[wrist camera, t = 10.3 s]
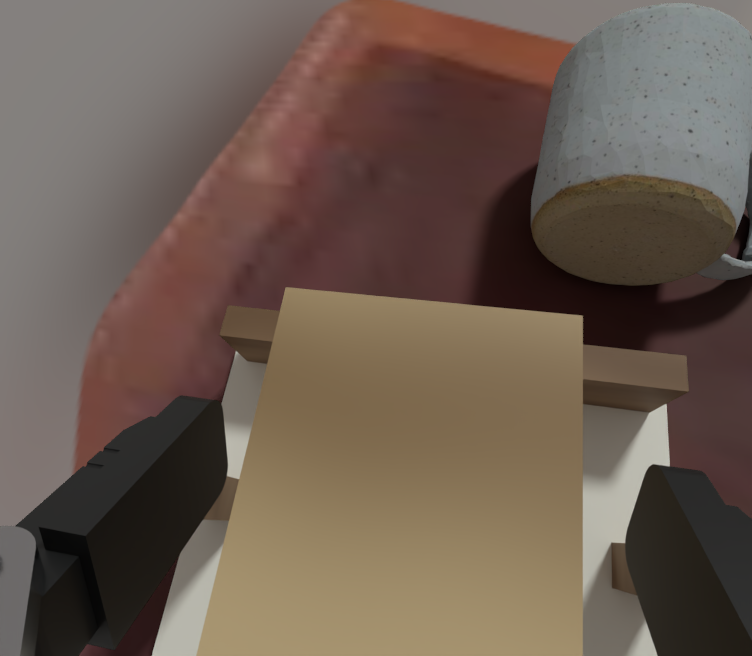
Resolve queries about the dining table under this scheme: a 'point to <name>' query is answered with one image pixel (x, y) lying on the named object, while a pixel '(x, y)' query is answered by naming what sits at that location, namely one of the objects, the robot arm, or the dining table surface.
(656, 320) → the dining table surface
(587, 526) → the peg stand
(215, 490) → the robot arm
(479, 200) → the dining table surface
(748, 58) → the ceramic mug
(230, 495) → the walnut frame
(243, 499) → the oak block
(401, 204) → the dining table surface
